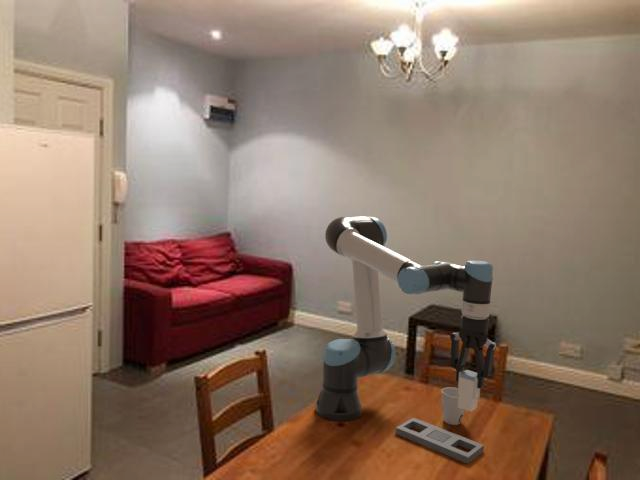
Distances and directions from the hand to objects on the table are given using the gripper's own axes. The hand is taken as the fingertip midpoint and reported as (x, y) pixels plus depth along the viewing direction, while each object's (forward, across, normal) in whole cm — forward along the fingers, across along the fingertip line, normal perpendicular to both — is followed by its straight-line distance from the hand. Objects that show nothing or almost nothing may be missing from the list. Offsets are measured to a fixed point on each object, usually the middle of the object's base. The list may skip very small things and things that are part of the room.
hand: (468, 395), depth 157 cm
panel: (+17, -8, 0) cm, 19 cm away
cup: (+18, -12, +16) cm, 27 cm away
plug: (+4, 0, 0) cm, 4 cm away
